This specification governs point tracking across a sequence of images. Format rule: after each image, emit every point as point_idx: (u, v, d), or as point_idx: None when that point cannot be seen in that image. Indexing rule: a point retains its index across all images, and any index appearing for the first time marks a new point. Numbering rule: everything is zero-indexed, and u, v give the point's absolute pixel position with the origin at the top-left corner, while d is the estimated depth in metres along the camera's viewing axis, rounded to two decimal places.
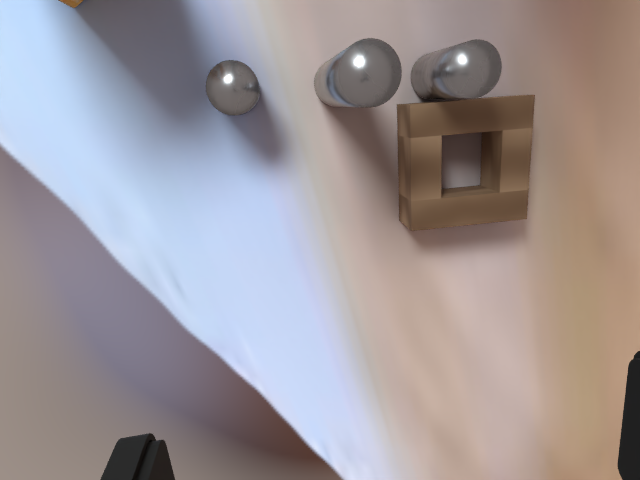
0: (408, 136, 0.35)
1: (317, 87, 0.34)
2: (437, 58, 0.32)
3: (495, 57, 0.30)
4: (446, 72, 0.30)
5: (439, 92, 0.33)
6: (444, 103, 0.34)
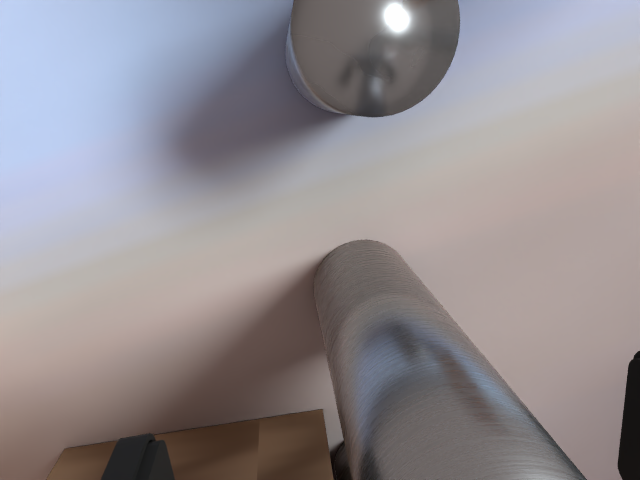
0: (259, 477, 0.15)
1: (360, 259, 0.14)
2: None
3: None
4: None
5: None
6: None
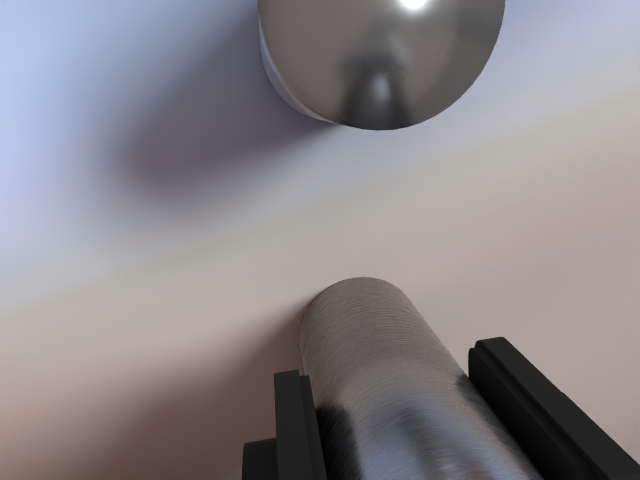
0: None
1: (359, 308, 0.11)
2: None
3: None
4: None
5: None
6: None
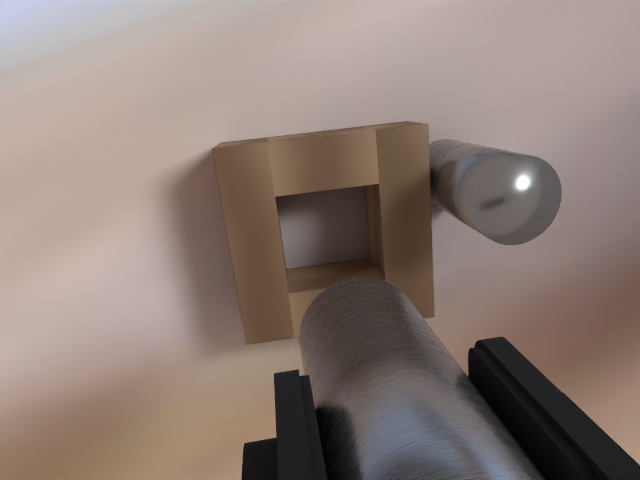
0: (374, 129, 0.21)
1: (359, 308, 0.11)
2: None
3: (532, 232, 0.18)
4: (510, 154, 0.18)
5: (455, 163, 0.20)
6: (427, 181, 0.22)
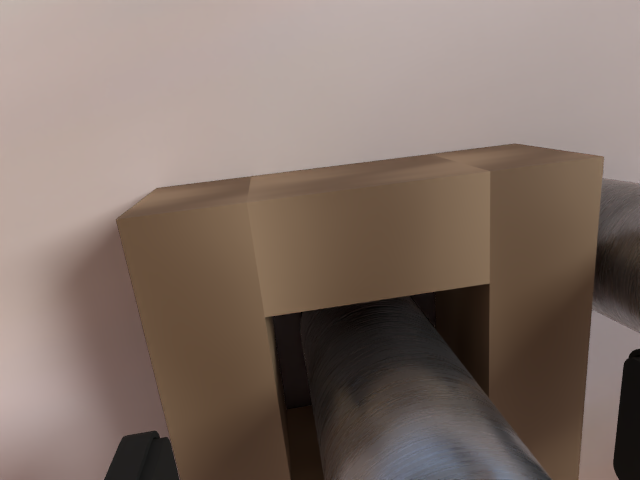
0: (482, 167, 0.10)
1: None
2: None
3: None
4: None
5: None
6: (589, 276, 0.10)
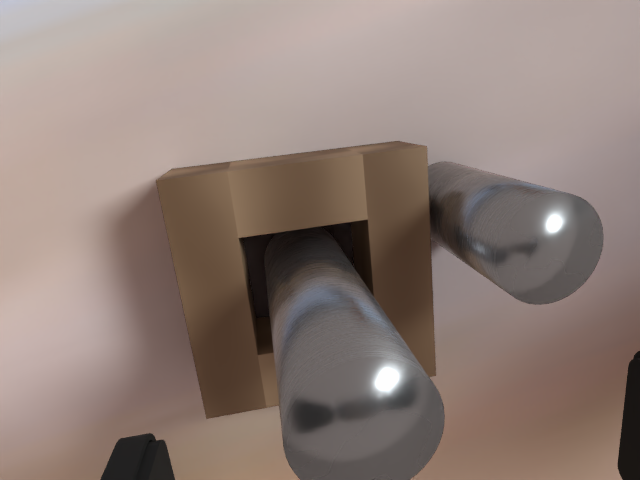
0: (361, 152, 0.17)
1: (296, 235, 0.19)
2: None
3: (566, 287, 0.14)
4: (540, 191, 0.14)
5: (464, 197, 0.16)
6: (426, 215, 0.18)
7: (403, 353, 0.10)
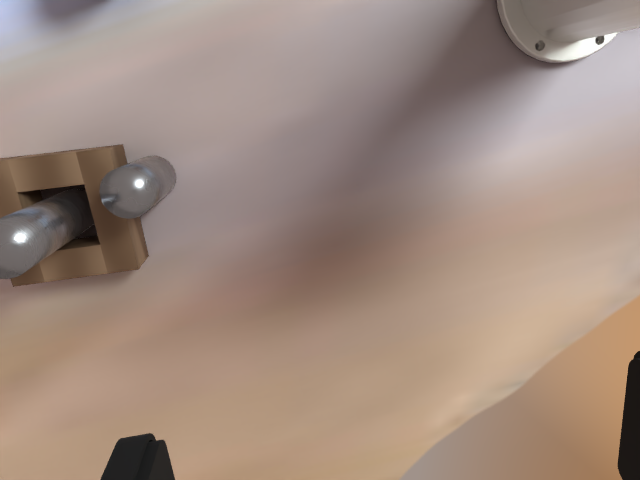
0: (79, 151, 0.35)
1: (59, 193, 0.37)
2: (147, 165, 0.34)
3: (140, 210, 0.32)
4: (121, 167, 0.31)
5: None
6: None
7: (16, 224, 0.28)
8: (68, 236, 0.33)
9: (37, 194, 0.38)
